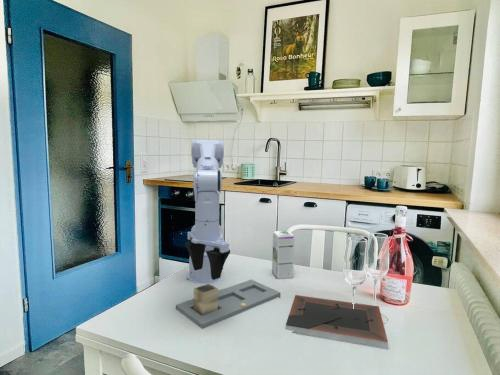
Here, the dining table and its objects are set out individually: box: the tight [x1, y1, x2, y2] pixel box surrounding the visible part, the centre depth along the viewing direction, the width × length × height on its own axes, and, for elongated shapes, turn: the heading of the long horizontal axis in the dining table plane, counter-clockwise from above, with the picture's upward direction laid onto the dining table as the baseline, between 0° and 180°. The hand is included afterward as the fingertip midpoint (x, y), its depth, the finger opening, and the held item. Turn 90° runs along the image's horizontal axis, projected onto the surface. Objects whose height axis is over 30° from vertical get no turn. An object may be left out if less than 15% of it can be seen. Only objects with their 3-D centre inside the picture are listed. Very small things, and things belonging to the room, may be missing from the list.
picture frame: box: [285, 294, 389, 350], centre depth 79 cm, size 16×2×22 cm
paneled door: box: [175, 279, 282, 330], centre depth 86 cm, size 12×26×2 cm, turn 132°
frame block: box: [193, 284, 219, 316], centre depth 80 cm, size 4×4×6 cm
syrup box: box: [271, 230, 295, 280], centre depth 106 cm, size 6×6×14 cm
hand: (206, 273), depth 80 cm, fingers open, 7 cm apart
